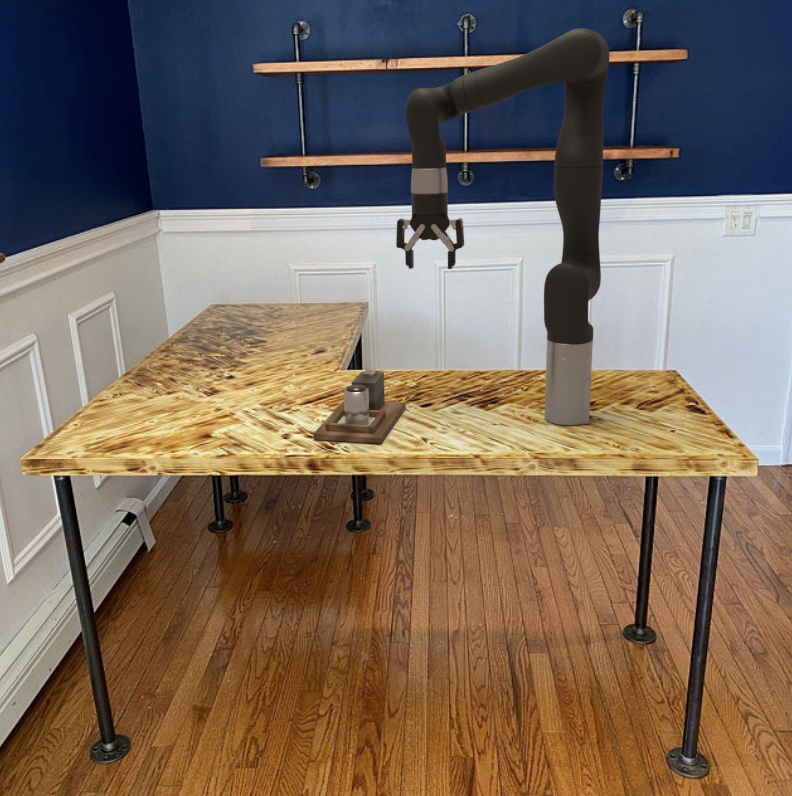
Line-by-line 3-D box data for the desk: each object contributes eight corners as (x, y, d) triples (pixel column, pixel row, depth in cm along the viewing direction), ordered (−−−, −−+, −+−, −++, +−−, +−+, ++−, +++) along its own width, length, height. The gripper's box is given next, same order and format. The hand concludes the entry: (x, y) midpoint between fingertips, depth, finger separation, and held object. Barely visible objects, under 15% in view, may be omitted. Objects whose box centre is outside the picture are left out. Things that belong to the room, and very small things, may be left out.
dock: (405, 407, 183) (404, 368, 180) (381, 443, 163) (379, 400, 160) (345, 404, 186) (343, 365, 183) (313, 439, 166) (310, 396, 163)
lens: (372, 420, 172) (372, 385, 170) (363, 427, 167) (362, 391, 165) (350, 417, 174) (350, 383, 171) (341, 424, 169) (340, 389, 167)
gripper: (466, 188, 174) (466, 265, 179) (400, 189, 177) (402, 265, 182) (460, 191, 167) (460, 271, 172) (391, 192, 170) (394, 271, 175)
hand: (430, 268), depth 177 cm, fingers open, 8 cm apart
